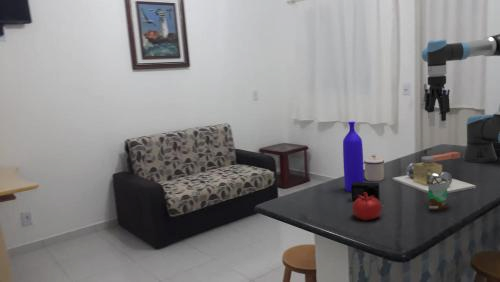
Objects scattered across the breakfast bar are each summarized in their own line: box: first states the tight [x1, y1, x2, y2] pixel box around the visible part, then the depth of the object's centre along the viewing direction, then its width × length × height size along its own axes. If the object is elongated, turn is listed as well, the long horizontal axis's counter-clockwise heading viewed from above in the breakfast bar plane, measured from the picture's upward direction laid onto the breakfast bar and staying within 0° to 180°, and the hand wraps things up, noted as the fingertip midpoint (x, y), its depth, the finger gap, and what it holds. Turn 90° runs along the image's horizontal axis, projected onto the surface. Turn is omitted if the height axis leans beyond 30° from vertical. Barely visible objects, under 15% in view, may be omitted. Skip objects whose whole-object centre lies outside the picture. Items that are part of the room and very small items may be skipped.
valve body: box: [405, 161, 453, 186], centre depth 170 cm, size 8×20×9 cm, turn 16°
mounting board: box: [392, 174, 477, 194], centre depth 171 cm, size 20×27×1 cm
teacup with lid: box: [363, 154, 385, 182], centre depth 186 cm, size 12×9×12 cm
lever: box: [420, 151, 461, 163], centre depth 171 cm, size 18×5×2 cm, turn 106°
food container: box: [428, 176, 450, 211], centre depth 143 cm, size 12×6×10 cm, turn 148°
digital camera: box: [351, 181, 381, 202], centre depth 157 cm, size 10×5×7 cm, turn 66°
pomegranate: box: [351, 192, 383, 221], centre depth 140 cm, size 10×10×9 cm
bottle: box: [342, 120, 365, 193], centre depth 170 cm, size 8×8×30 cm
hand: (436, 127), depth 178 cm, fingers open, 6 cm apart
